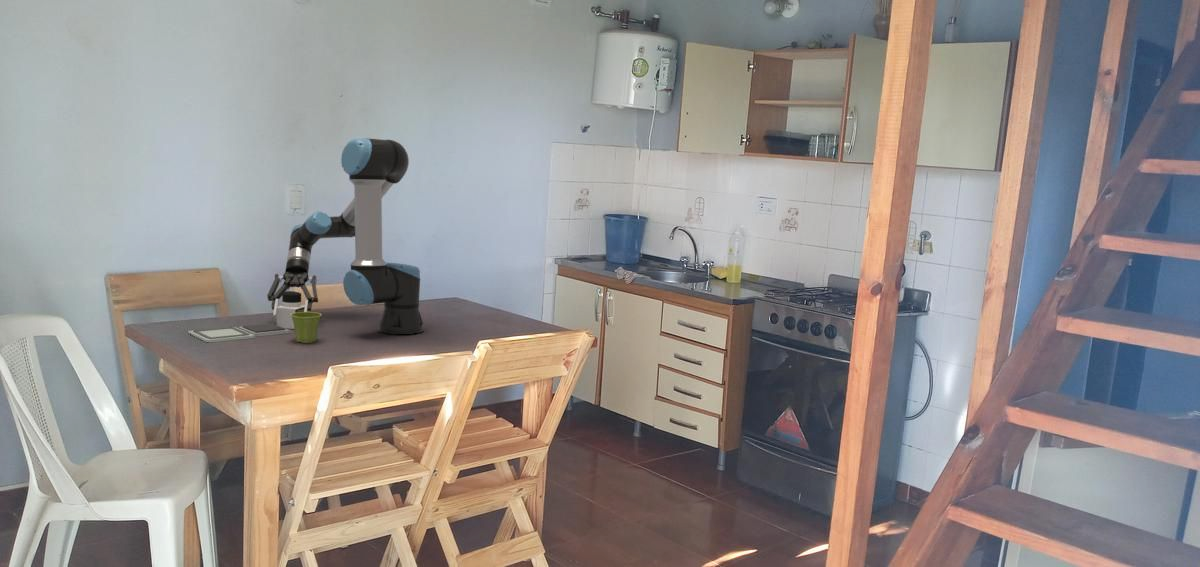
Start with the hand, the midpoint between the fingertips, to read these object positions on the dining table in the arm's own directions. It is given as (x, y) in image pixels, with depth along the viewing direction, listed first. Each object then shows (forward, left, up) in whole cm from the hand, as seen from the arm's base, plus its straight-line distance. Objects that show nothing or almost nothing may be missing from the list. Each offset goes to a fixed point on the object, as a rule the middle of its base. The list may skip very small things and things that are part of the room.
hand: (290, 317), depth 309 cm
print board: (0, +23, -4) cm, 23 cm away
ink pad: (0, +9, -4) cm, 10 cm away
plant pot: (-19, +4, -4) cm, 20 cm away
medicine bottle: (+3, -2, -4) cm, 5 cm away
